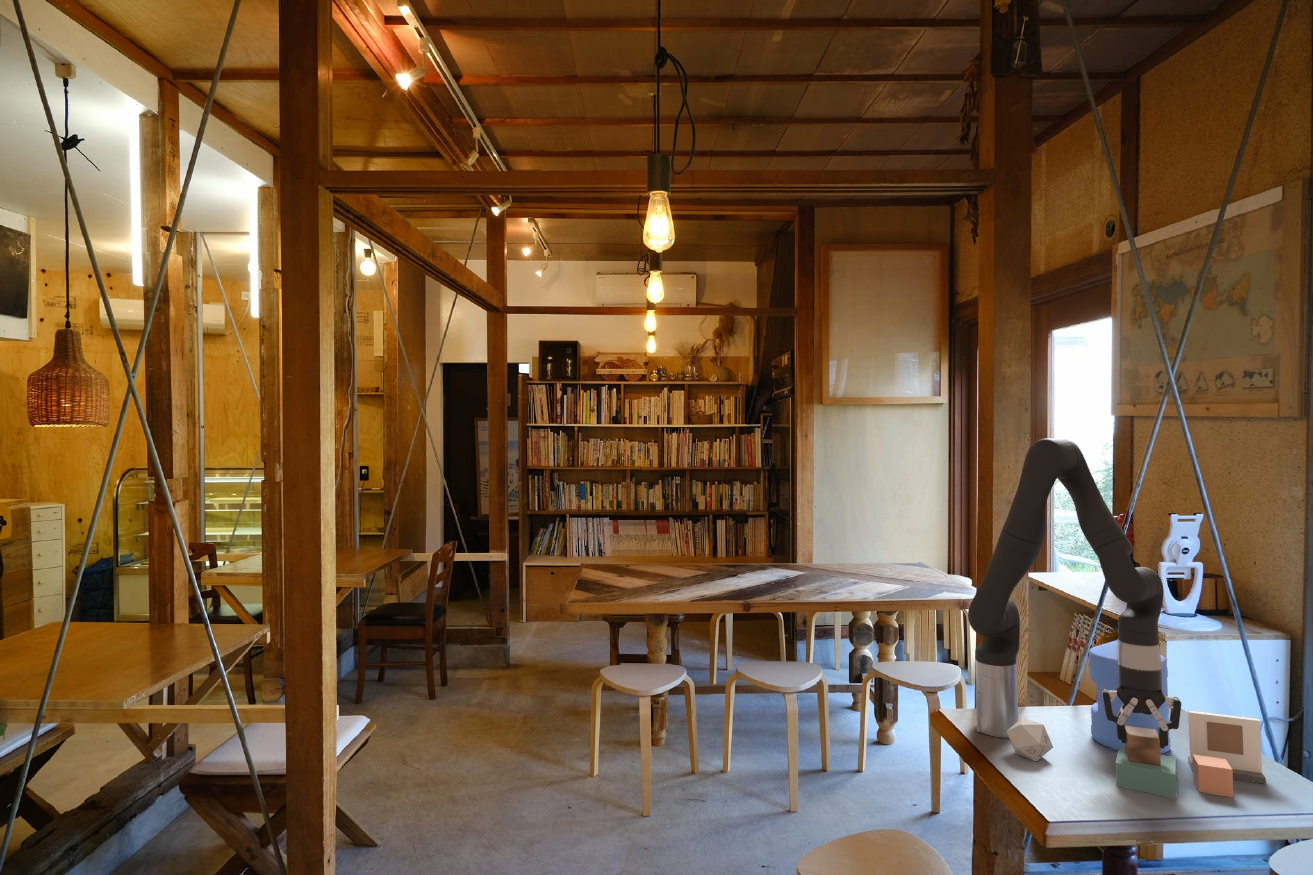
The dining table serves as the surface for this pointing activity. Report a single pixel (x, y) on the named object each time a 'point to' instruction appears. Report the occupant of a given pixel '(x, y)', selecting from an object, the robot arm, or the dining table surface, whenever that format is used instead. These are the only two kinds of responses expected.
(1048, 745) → the die
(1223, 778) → the terracotta block
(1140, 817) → the dining table surface
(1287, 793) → the dining table surface
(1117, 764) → the base block
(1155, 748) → the walnut block
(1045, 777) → the dining table surface
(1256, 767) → the placard
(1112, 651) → the water jug
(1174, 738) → the dining table surface
